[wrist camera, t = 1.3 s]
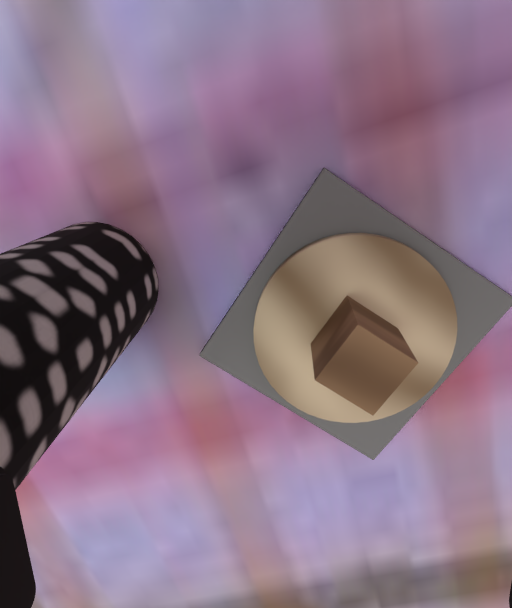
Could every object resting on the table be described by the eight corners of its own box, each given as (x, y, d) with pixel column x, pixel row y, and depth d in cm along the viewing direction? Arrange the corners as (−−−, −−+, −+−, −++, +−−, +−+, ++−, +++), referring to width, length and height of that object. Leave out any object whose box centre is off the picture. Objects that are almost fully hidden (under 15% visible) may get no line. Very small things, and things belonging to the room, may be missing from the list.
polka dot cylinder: (146, 216, 31) (-75, 337, 12) (167, 334, 34) (13, 584, 15) (25, 228, 32) (-361, 359, 13) (55, 342, 34) (-229, 590, 15)
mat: (323, 167, 29) (324, 168, 29) (512, 297, 31) (516, 300, 31) (200, 352, 34) (199, 355, 33) (371, 454, 36) (373, 459, 35)
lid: (328, 191, 29) (338, 205, 23) (493, 303, 31) (542, 342, 25) (218, 352, 33) (204, 398, 27) (370, 443, 35) (387, 505, 29)
